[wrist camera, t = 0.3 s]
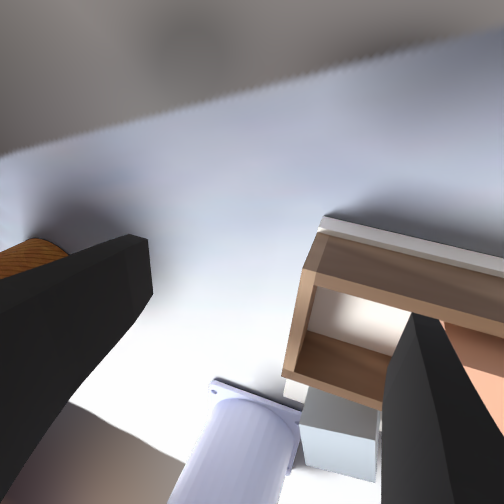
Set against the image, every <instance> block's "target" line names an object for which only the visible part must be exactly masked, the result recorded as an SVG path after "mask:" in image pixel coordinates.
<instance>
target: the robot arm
mask: <svg viewBox="0 0 504 504" xmlns="http://www.w3.org/2000/svg"><path fill="white" fill-rule="evenodd" d="M152 295H153V286H152V277H151V267H150V257H149V248H148V239H145V238H141V237H138V236H134V235H131V234H128V235H125V236H121V237H118V238H115V239H112V240H109V241H107V242H104V243H101V244H98V245H96V246H93V247H90V248H88V249H85V250H82V251H80V252H77V253H74V254H72V255H69V256H66V257H64V258H61V259H58V260H56V261H53V262H50V263H47V264H44V265H41V266H38V267H35V268H32V269H29V270H26V271H23V272H21V273H18V274H15V275H12V276H9V277H5V278H2V279H0V503H1V501H2V499H3V498H4V496H5V494H6V493H7V491H8V490H9V488H10V487H11V485H12V483H13V482H14V480H15V478H16V477H17V475H18V474H19V472H20V471H21V469H22V467H23V466H24V464H25V463H26V461H27V460H28V458H29V457H30V455H31V454H32V452H33V451H34V449H35V448H36V446H37V445H38V443H39V442H40V440H41V439H42V437H43V436H44V434H45V433H46V431H47V430H48V428H49V427H50V426H51V424H52V423H53V421H54V420H55V418H56V417H57V416H58V414H59V413H60V412H61V410H62V409H63V407H64V406H65V405H66V403H67V402H68V400H69V399H70V398H71V396H72V395H73V394H74V393H75V391H76V390H77V389H78V388H79V386H80V385H81V384H82V383H83V381H84V380H85V379H86V378H87V377H88V376H89V375H90V373H91V372H92V371H93V370H94V369H95V368H96V367H97V365H98V364H99V363H100V362H101V361H102V360H103V359H104V357H105V356H106V355H107V354H108V353H109V352H110V351H111V349H112V348H113V347H114V346H115V345H116V344H117V343H118V341H119V340H120V339H121V338H122V337H123V336H124V334H125V333H126V332H127V331H128V330H129V329H130V327H131V326H132V325H133V324H134V323H135V321H136V320H137V318H138V317H139V315H140V314H141V312H142V311H143V310H144V308H145V306H146V305H147V303H148V302H149V300H150V298H151V297H152ZM301 414H302V412H300V411H298V410H295V409H292V408H289V407H287V406H284V405H281V404H278V403H276V402H273V401H270V400H268V399H265V398H262V397H259V396H257V395H254V394H251V393H249V392H246V391H243V390H240V389H238V388H235V387H232V386H229V385H227V384H224V383H221V382H219V381H215V380H212V381H211V382H210V384H209V414H208V420H207V422H206V424H205V426H204V428H203V430H202V432H201V434H200V436H199V438H198V440H197V442H196V444H195V446H194V448H193V450H192V453H191V455H190V457H189V459H188V461H187V463H186V465H185V467H184V469H183V471H182V473H181V475H180V477H179V479H178V481H177V483H176V485H175V487H174V489H173V491H172V493H171V495H170V497H169V499H168V502H167V503H166V504H278V501H279V497H280V493H281V489H282V486H283V482H284V478H285V475H286V476H288V475H290V473H291V470H292V466H293V463H294V459H295V456H296V452H297V449H298V446H299V442H300V439H301V434H300V428H299V421H300V418H301ZM381 504H504V436H503V434H502V432H501V431H500V429H499V428H498V426H497V424H496V423H495V421H494V419H493V418H492V416H491V415H490V413H489V411H488V410H487V408H486V406H485V404H484V403H483V401H482V399H481V397H480V396H479V394H478V392H477V390H476V389H475V387H474V385H473V383H472V382H471V380H470V378H469V376H468V374H467V372H466V371H465V369H464V367H463V365H462V363H461V361H460V359H459V357H458V355H457V353H456V351H455V350H454V348H453V346H452V344H451V342H450V340H449V338H448V336H447V334H446V332H445V330H444V328H443V326H442V324H441V322H440V321H439V319H435V318H432V317H428V316H424V315H421V314H417V313H414V312H411V314H410V317H409V319H408V321H407V323H406V326H405V328H404V330H403V333H402V335H401V337H400V339H399V342H398V344H397V346H396V349H395V351H394V353H393V355H392V358H391V360H390V362H389V365H388V367H387V373H386V380H385V387H384V395H383V403H382V470H381Z"/></svg>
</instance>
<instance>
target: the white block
mask: <svg viewBox="0 0 504 504" xmlns="http://www.w3.org/2000/svg"><path fill="white" fill-rule="evenodd" d="M299 428H300V434H301V440H302V446H303V452H304V458H305V463H306V465H307V466H311V467H315V468H319V469H322V470H326V471H330V472H334V473H338V474H342V475H346V476H350V477H354V478H357V479H361V480H365V481H369V482H373V483H375V482H376V469H377V455H378V442H379V428H380V411H379V410H376V409H373V408H370V407H367V406H365V405H362V404H359V403H356V402H353V401H350V400H347V399H345V398H342V397H339V396H336V395H333V394H330V393H327V392H324V391H322V390H319V389H316V388H313V387H310V386H309V388H308V392H307V395H306V399H305V403H304V407H303V410H302V414H301V418H300V421H299Z"/></svg>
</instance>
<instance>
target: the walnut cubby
mask: <svg viewBox="0 0 504 504" xmlns="http://www.w3.org/2000/svg"><path fill="white" fill-rule="evenodd" d="M317 286H319V287H323V288H327V289H330V290H334V291H337V292H341V293H344V294H348V295H351V296H355V297H359V298H362V299H366V300H369V301H373V302H376V303H380V304H383V305H387V306H391V307H394V308H398V309H401V310H405V311H408V312H414V313H417V314H421V315H424V316H428V317H432V318H435V319H439V320H440V321H444V322H447V323H451V324H455V325H458V326H462V327H465V328H469V329H472V330H476V331H479V332H483V333H486V334H490V335H494V336H497V337H501V338H504V278H501V277H497V276H493V275H489V274H485V273H481V272H477V271H473V270H469V269H465V268H461V267H457V266H453V265H449V264H445V263H440V262H436V261H432V260H428V259H424V258H420V257H416V256H412V255H408V254H404V253H400V252H396V251H392V250H388V249H384V248H380V247H376V246H372V245H367V244H363V243H359V242H355V241H351V240H347V239H343V238H339V237H335V236H331V235H327V234H323V233H319V232H317V234H316V237H315V239H314V242H313V244H312V246H311V249H310V251H309V254H308V256H307V258H306V261H305V263H304V266H303V268H302V273H301V278H300V283H299V288H298V293H297V298H296V303H295V308H294V314H293V319H292V324H291V329H290V334H289V339H288V344H287V349H286V354H285V359H284V364H283V369H282V375H281V377H284V378H287V379H290V380H293V381H296V382H299V383H302V384H304V385H307V386H310V387H313V388H316V389H319V390H322V391H324V392H327V393H330V394H333V395H336V396H339V397H342V398H345V399H347V400H350V401H353V402H356V403H359V404H362V405H365V406H367V407H370V408H373V409H376V410H379V411H382V403H383V395H384V387H385V380H386V373H387V367H388V365H389V362H390V360H391V358H392V356H389V355H385V354H382V353H379V352H376V351H373V350H369V349H366V348H363V347H360V346H357V345H353V344H350V343H347V342H344V341H341V340H337V339H334V338H331V337H328V336H325V335H321V334H318V333H315V332H312V331H309V330H307V328H308V324H309V320H310V316H311V311H312V307H313V303H314V299H315V294H316V290H317Z"/></svg>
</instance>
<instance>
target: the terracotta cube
mask: <svg viewBox="0 0 504 504" xmlns="http://www.w3.org/2000/svg"><path fill="white" fill-rule="evenodd" d="M439 321H440V320H439ZM440 322H441V324H442V326H443V328H444V330H445V332H446V334H447V336H448V338H449V340H450V342H451V344H452V346H453V348H454V350H455V351H456V353H457V355H458V357H459V359H460V361H461V363H462V365H463V367H464V369H465V371H466V372H467V374H468V376H469V378H470V380H471V382H472V383H473V385H474V387H475V389H476V390H477V392H478V394H479V396H480V397H481V399H482V401H483V403H484V404H485V406H486V408H487V410H488V411H489V413H490V415H491V416H492V418H493V419H494V421H495V423H496V424H497V426H498V428H499V429H500V431H501V432H502V434H503V436H504V338H501V337H497V336H494V335H490V334H486V333H483V332H479V331H476V330H472V329H469V328H465V327H462V326H458V325H455V324H451V323H447V322H444V321H440Z"/></svg>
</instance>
